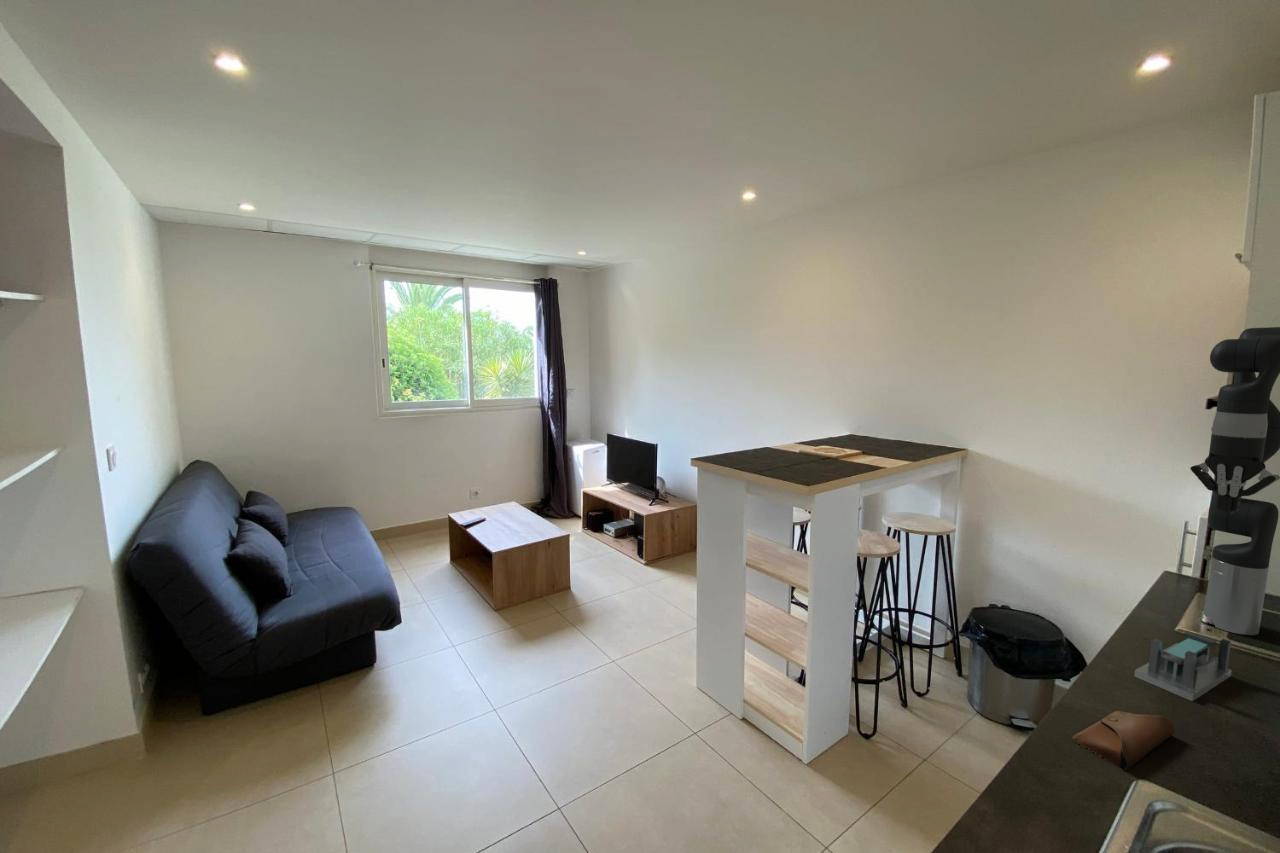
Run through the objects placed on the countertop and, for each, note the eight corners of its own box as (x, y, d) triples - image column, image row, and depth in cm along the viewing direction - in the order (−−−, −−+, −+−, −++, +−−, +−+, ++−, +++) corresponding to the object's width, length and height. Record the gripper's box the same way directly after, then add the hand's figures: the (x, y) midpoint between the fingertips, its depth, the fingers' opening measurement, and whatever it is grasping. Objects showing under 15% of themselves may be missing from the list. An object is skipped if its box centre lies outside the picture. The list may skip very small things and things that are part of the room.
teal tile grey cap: (1186, 638, 114) (1187, 631, 113) (1214, 648, 110) (1215, 640, 110) (1156, 656, 108) (1157, 648, 108) (1184, 667, 104) (1185, 659, 104)
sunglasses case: (1114, 707, 100) (1140, 691, 97) (1153, 744, 96) (1182, 728, 92) (1067, 740, 92) (1093, 723, 89) (1107, 782, 88) (1136, 766, 84)
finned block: (1173, 654, 117) (1177, 620, 116) (1230, 676, 109) (1235, 639, 108) (1134, 676, 110) (1138, 639, 109) (1192, 701, 102) (1197, 662, 101)
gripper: (1294, 436, 103) (1281, 518, 105) (1202, 428, 115) (1192, 502, 117) (1279, 439, 100) (1267, 523, 102) (1186, 431, 112) (1177, 507, 114)
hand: (1227, 512), depth 110 cm, fingers closed
